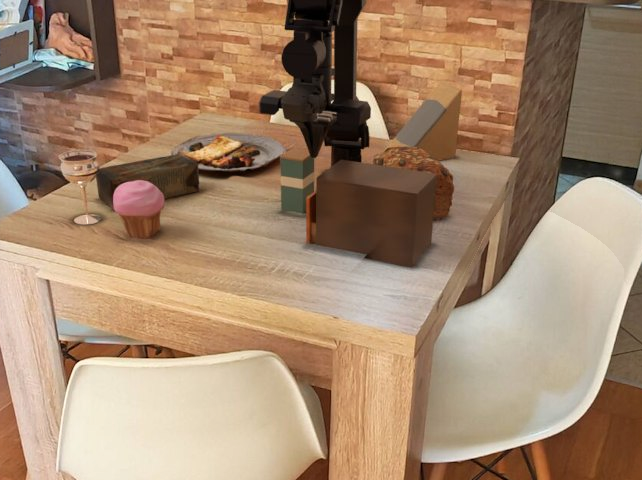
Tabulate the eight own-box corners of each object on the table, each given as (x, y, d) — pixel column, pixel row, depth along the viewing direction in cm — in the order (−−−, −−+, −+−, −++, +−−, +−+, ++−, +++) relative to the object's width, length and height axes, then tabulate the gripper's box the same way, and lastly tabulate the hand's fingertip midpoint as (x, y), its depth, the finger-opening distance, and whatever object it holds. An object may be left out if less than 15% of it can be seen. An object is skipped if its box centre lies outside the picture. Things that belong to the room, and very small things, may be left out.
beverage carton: (202, 191, 165) (199, 159, 161) (113, 212, 156) (108, 178, 152) (183, 180, 171) (180, 149, 167) (96, 200, 161) (91, 167, 158)
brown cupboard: (315, 249, 142) (316, 177, 135) (339, 227, 150) (341, 159, 143) (411, 267, 136) (417, 193, 129) (431, 244, 144) (437, 173, 137)
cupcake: (152, 248, 142) (146, 193, 136) (108, 242, 144) (100, 187, 139) (175, 229, 149) (170, 176, 143) (133, 223, 151) (126, 170, 146)
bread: (452, 219, 153) (457, 167, 148) (398, 224, 151) (401, 171, 146) (418, 186, 169) (422, 137, 163) (368, 190, 166) (370, 141, 161)
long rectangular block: (280, 213, 156) (279, 156, 150) (292, 204, 160) (292, 148, 154) (303, 217, 154) (303, 159, 148) (314, 208, 158) (314, 151, 152)
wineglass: (67, 215, 154) (56, 152, 148) (103, 210, 156) (94, 148, 150) (71, 228, 149) (60, 163, 143) (108, 223, 151) (99, 159, 145)
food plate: (237, 186, 168) (236, 169, 166) (150, 166, 178) (148, 150, 176) (302, 154, 186) (302, 138, 184) (220, 137, 196) (219, 122, 194)
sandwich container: (377, 156, 185) (380, 87, 176) (434, 147, 190) (440, 80, 182) (397, 167, 178) (401, 96, 170) (455, 157, 184) (462, 88, 176)
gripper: (241, 68, 133) (245, 163, 141) (347, 81, 126) (345, 179, 135) (272, 55, 141) (274, 145, 150) (373, 66, 135) (370, 159, 143)
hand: (314, 157), depth 144 cm, fingers closed
